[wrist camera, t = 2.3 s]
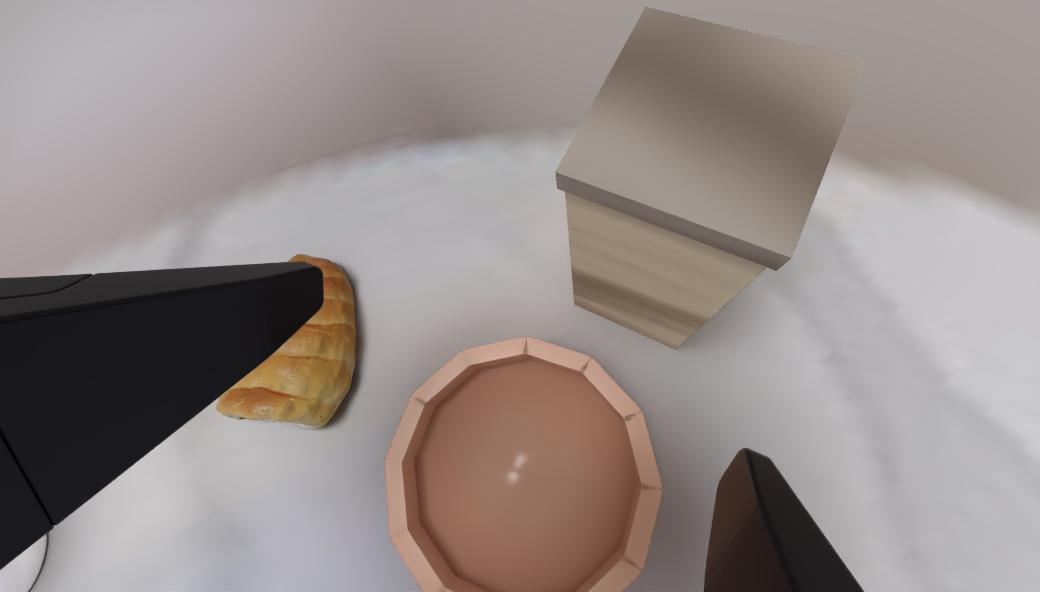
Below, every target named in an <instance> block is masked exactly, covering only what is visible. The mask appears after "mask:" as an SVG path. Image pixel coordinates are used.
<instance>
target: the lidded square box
mask: <svg viewBox="0 0 1040 592" xmlns="http://www.w3.org/2000/svg"><path fill="white" fill-rule="evenodd" d="M867 62H868V60H866V59H861V58H857V57H853V56H849V55H844V54H840V53H836V52H832V51H827V50H823V49H819V48H815V47H811V46H806V45H802V44H798V43H794V42H789V41H786V40H782V39H777V38H773V37H769V36H764V35H761V34H756V33H752V32H748V31H744V30H739V29H735V28H731V27H727V26H723V25H719V24H714V23H710V22H706V21H702V20H697V19H693V18H689V17H685V16H680V15H677V14H672V13H668V12H664V11H660V10H656V9H651V8H647V7H646V8H645V9H644V11H643V13H642V15H641V16H640V18H639V20H638V22H637V24H636V26H635V27H634V29H633V31H632V33H631V35H630V36H629V38H628V40H627V42H626V44H625V46H624V47H623V49H622V51H621V53H620V55H619V57H618V58H617V60H616V62H615V64H614V66H613V68H612V70H611V71H610V73H609V75H608V77H607V79H606V81H605V82H604V84H603V86H602V88H601V90H600V92H599V93H598V95H597V97H596V99H595V101H594V102H593V104H592V106H591V108H590V110H589V112H588V113H587V115H586V117H585V119H584V121H583V123H582V124H581V126H580V128H579V130H578V132H577V134H576V135H575V137H574V139H573V141H572V143H571V145H570V146H569V148H568V150H567V152H566V154H565V156H564V157H563V159H562V161H561V163H560V165H559V167H558V168H557V170H556V181H557V189H559V190H562V191H565V196H566V208H567V220H568V232H569V244H570V256H571V268H572V280H573V292H574V304H575V305H577V306H579V307H582V308H584V309H586V310H588V311H591V312H593V313H595V314H597V315H599V316H602V317H604V318H606V319H608V320H611V321H613V322H615V323H617V324H620V325H622V326H624V327H626V328H629V329H631V330H633V331H635V332H637V333H640V334H642V335H644V336H646V337H649V338H651V339H653V340H655V341H658V342H660V343H662V344H664V345H667V346H669V347H671V348H673V349H677V348H678V347H679V346H680V345H681V344H682V343H683V342H684V341H686V340H687V339H688V338H689V337H690V336H691V335H692V334H693V333H694V332H696V331H697V330H698V329H699V328H700V327H701V326H702V325H703V324H704V323H706V322H707V321H708V320H709V319H710V318H711V317H712V316H713V315H715V314H716V313H717V312H718V311H719V310H720V309H721V308H722V307H723V306H725V305H726V304H727V303H728V302H729V301H730V300H731V299H732V298H733V297H735V296H736V295H737V294H738V293H739V292H740V291H741V290H742V289H743V288H745V287H746V286H747V285H748V284H749V283H750V282H751V281H752V280H754V279H755V278H756V277H757V276H758V275H759V274H760V273H761V272H762V271H764V270H765V269H766V268H770V269H773V270H775V271H777V270H778V269H779V268H780V267H781V266H783V265H784V264H785V263H786V262H787V261H789V260H790V259H791V258H792V255H793V253H794V250H795V248H796V245H797V243H798V240H799V237H800V235H801V232H802V230H803V227H804V224H805V222H806V219H807V217H808V214H809V212H810V209H811V206H812V204H813V201H814V199H815V196H816V194H817V191H818V188H819V186H820V183H821V181H822V178H823V175H824V173H825V170H826V168H827V165H828V163H829V160H830V157H831V155H832V152H833V150H834V147H835V144H836V142H837V139H838V137H839V134H840V131H841V129H842V126H843V124H844V121H845V119H846V116H847V113H848V111H849V108H850V106H851V103H852V101H853V98H854V95H855V93H856V90H857V88H858V85H859V82H860V80H861V77H862V75H863V72H864V70H865V67H866V64H867Z"/></svg>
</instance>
